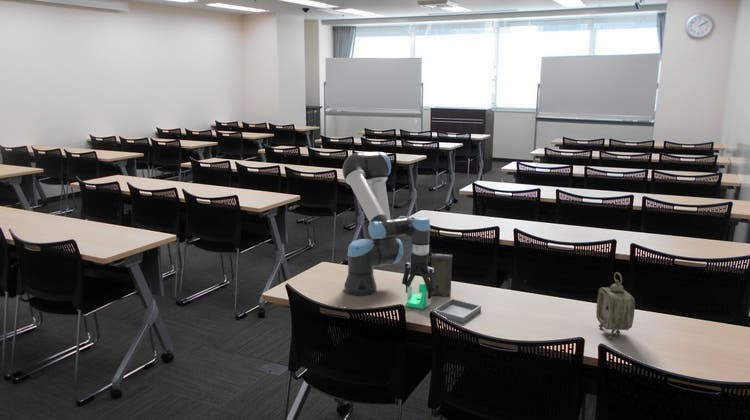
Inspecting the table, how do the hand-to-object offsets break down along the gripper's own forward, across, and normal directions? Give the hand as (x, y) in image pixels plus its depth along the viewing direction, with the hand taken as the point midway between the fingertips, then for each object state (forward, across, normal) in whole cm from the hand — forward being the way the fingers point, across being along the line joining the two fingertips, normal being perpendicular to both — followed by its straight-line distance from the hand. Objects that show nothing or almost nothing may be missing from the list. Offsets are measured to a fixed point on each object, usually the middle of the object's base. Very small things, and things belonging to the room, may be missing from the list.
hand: (418, 302), depth 246 cm
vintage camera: (+1, -1, +21) cm, 21 cm away
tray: (+1, +18, +2) cm, 18 cm away
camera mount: (+1, 0, 0) cm, 1 cm away
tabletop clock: (+2, +76, +21) cm, 79 cm away
